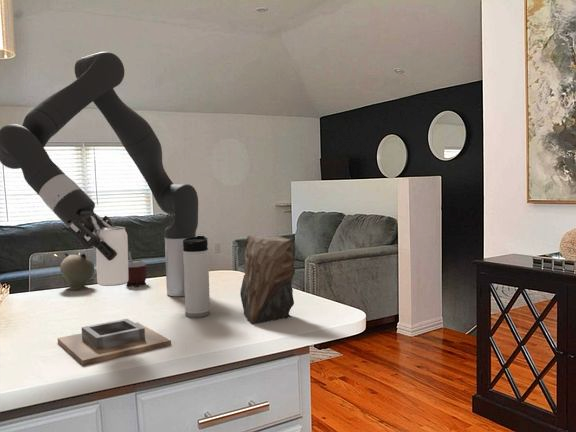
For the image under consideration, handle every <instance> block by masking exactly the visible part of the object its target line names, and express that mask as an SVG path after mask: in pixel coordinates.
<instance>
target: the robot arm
mask: <svg viewBox="0 0 576 432" xmlns="http://www.w3.org/2000/svg"><path fill="white" fill-rule="evenodd" d="M74 74H75V78H76V79H75V80H74V81H72V82H70V84H67V85H66V86H64V87H63V88H61V89H59V90H58V91H56V92H54V93H52V94H50V95H49V96H48V97H46V98H45V99H44V100H42V101H41V102H39V104H37V105H36V106H35V107H33V109H31V110H30V111H29V112H28V113H27V114H26V115H25V117H24V119H23V123H22V125H21V124H17V123H8V124H6V125H4V126H3V127H1V128H0V164H2V165H3V167H5V168H8V169H12V170H15V169H16V170H19V169H21V171H22V175H23V178H24V181H25V182H26V183H27V184H28V186H29V187H31V189H32V190H33V191H34V192H35V193H36V194H37V195H38V196H39V197H40V198H41V200H42V201H43V202H44V204H45V205H46V206H47V207H48V208H49V209H50V210H51V211H52V212H53V213H54V214H55V215H56V216H57V218H59V220H60V221H61V222H62V223H63V224H64V225H65V226H67V230H68V231H69V233H71V234H73V236H75V237H76V239H78V240H79V241H80V242H81V243H82V244H84V245H85V246H86V247H87V248H93V249H95V250H96V249H98V250H99V251H100V252H101V253H102V254H103V255H104V256H105V257H106V258H107V259H108V260H109V261H110V260H112V259H113V258H114V257H115V256H116V255H117V252H116V251H115V250H114V249H112V248H111V247H110V246H109V245H108V244H107V243H106V242H105V241H104V240H103V238H102V237H101V236H100V230H99V229H102V227H117V226H116V225H115V224H114V222H113V221H112V220H111V219H110V217H109V216H107V215H104V216H103V217H101V216H100V215H98V214H96V213H95V212H94V210H95V207H96V203H95V202H94V200H92V199H91V197H89V195H88V194H87V193H86V192H85V191H84V190H83V189H82V188H81V187H80V186H79V185H78V184H77V183H76V182H75V181H74V180H73V179H72V178H70V177H69V176H68V175H67V174H66V173H65V172H63V170H62V169H61V168H60V167H59V166H58V165H57V164H56V163H55V162H54V161H52V159H51V157H50V155H49V154H48V152H47V150H46V148H45V147H46V145H47V144H48V142H49V141H50V139H51V138H53V136H55V135H57V133H58V132H60V130H61V129H63V128H64V127H65V126H66V125H67V124H68V123H69V122H70V121H71V120H72V119H73V118H74V117H75V116H76V115H78V114H79V113H80V112H81V111H82V110H84V109H85V108H87V106H89V105H90V104H91V103H93V104H94V105H95V106H96V108H97V109H98V110H99V112H100V113H101V114H102V116H103V117H104V118H105V120H106V122H107V123H108V124H109V126H110V127H111V129H112V130H113V131H114V133H115V134H116V136H117V138H118V139H119V141H120V143H121V145H122V146H123V147H124V149H125V150H126V152H127V154H128V155H129V157H130V158H131V160H132V161H133V163H134V164H135V165H136V166H135V167H137V169H138V170H139V172H140V174H141V176H142V177H143V179H144V180H145V182H146V184H147V186H148V188H149V190H150V191H151V194H152V196H153V198H154V199H155V201H156V204H157V205H158V207H159V208H160V210H161V211H163V212H164V213H166V214H168V215H173V222H172V224H171V225H168V226H167V227H165V229H164V248H165V249H164V251H165V255H164V256H165V276H166V283H165V284H166V295H167V296H170V297H171V296H172V297H185V289H184V262H183V248H184V247H183V240H184V239H187V238H192V237H197V234H196V232H197V229H198V226H199V197H198V192H197V190H196V189H195V187H194V186H193V185H191V184H187V183H174V182H173V181H172V180H171V178H170V177H169V176H168V174H167V172H166V170H165V168H164V165H163V150H162V149H163V147H162V145H161V142H160V140H159V138H158V136H157V134H156V133H155V130H153V128H152V126H151V125H150V124H149V122H148V121H147V120H146V119H145V118H144V117H142V116H141V115H140V114H139V113H137V112H136V111H135V110H134V109H132V108H131V107H130V106H129V105H127V104H126V103H125V102H123V100H122V99H121V98H120V96H119V95H118V94H117V92H116V91H115V89H114V88H116V87H118V86H119V85H120V84H121V83H122V82H123V80H124V78H125V67H124V64H123V62H122V60H121V58H120V57H119V56H118V55H116V54H115V53H113V52H110V51H99V52H96V53H92V54H88V55H86V56H83V57H80V58H78V60H76V62H75V64H74ZM129 252H130V253H131V248H130V247H129V246H128V254H129Z"/></svg>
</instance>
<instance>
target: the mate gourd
mask: <svg viewBox="0 0 576 432" xmlns="http://www.w3.org/2000/svg"><path fill="white" fill-rule="evenodd" d="M128 258H129V260H128V282H127V283H126V284H125V285H126V287H132V286H134V287H135V288H138V287H139V286H142V285H146V284H147V282H146V280H147V273H148V272H147V271H148V268H147V265H146V262H145V261H144V260H143V259H132V254H131V251H130V252H129V253H128Z"/></svg>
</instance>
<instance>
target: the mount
mask: <svg viewBox="0 0 576 432" xmlns="http://www.w3.org/2000/svg"><path fill="white" fill-rule="evenodd" d="M57 343H58V344H59V346H61V347H62V348H63V349H64V350H65V351H66V352H67V353H69V354H70V356H72V357H73V358H74V359H75V360H76V361H77V362H78V363H80V365H82V366H87V365H91V364H95V363H96V364H97V363H99V362H105V361H108V360H109V361H110V360H113V359H116V358H122V357H125V356H126V357H127V356H128V355H129V356H130V355H133V354H139V353H142V352H147V351H152V350H154V349H160V348H163V347H168V346H169V347H170V346H172V340H171V339H169V338H167V337H165V336H164V335H162V334H160V333H158V332H156V331H154V330H153V329H151V328H149V327H148V326H145V325H144V324H142V323H139V322H134V321H132V320H130V319H129V318H122V319H118V320H113V321H108V322H101V323H96V324H92V325H86V326H82V327H81V333H77V334H73V335H66V336H61V337H57Z"/></svg>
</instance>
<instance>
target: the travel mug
mask: <svg viewBox="0 0 576 432" xmlns="http://www.w3.org/2000/svg"><path fill="white" fill-rule="evenodd" d="M208 243H209V242H208V238H207V237H205V235H196V237H192V238H187V239H184V240H183V247H184V248H183V262H184V289H185V296H184V311H185V312H184V313H185V316H186V317H187V318H194V319H195V318H196V319H197V318H199V319H200V318H204V317H207V316H209V315H210V314H211V303H210V301H211V300H210V299H211V298H210V276H209V275H210V272H209V265H210V264H209V252H208V251H209V248H208Z"/></svg>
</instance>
